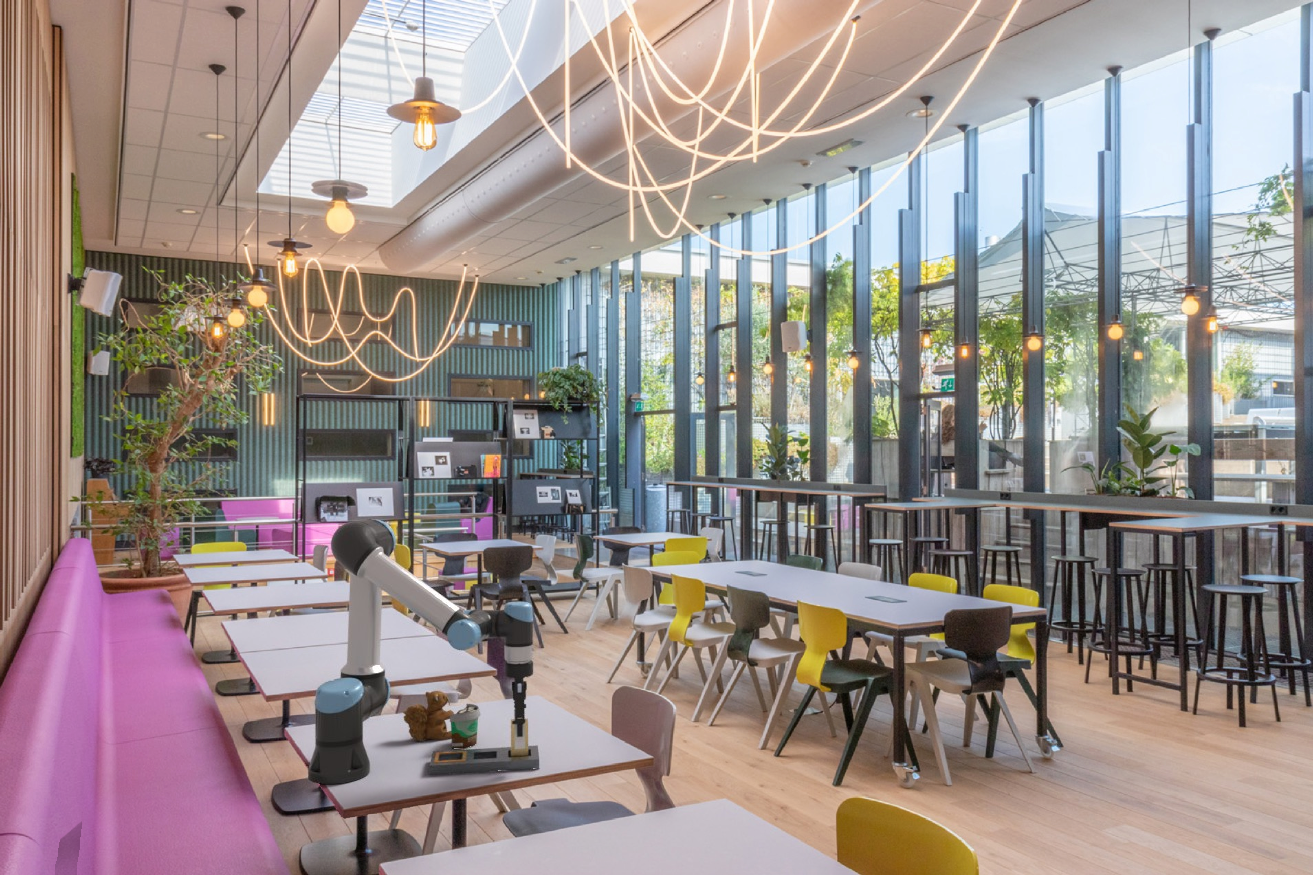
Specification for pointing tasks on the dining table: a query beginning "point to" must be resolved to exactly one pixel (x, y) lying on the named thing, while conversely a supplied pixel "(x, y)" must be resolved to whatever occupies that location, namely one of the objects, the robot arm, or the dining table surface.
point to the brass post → (514, 751)
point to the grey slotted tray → (481, 760)
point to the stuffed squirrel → (429, 718)
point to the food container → (465, 726)
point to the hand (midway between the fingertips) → (519, 740)
